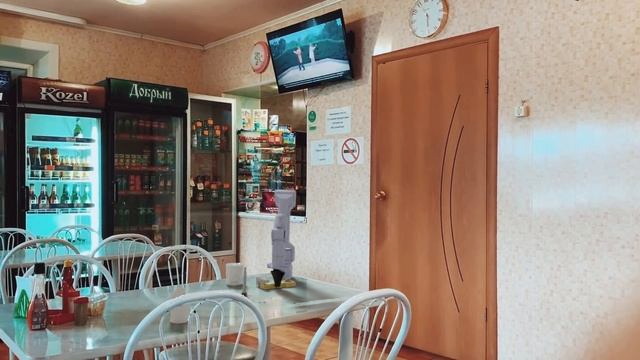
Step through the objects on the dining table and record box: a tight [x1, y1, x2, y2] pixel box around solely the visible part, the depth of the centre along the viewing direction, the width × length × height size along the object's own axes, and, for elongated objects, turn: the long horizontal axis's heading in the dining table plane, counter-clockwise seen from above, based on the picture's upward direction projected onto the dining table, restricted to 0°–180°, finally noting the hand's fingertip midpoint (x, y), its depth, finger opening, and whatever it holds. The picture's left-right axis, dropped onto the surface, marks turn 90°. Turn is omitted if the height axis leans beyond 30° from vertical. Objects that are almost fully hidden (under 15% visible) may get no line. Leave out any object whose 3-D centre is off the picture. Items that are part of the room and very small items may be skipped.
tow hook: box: [240, 266, 253, 297], centre depth 219 cm, size 8×13×9 cm
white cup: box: [225, 262, 245, 286], centre depth 237 cm, size 8×8×10 cm
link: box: [259, 279, 297, 290], centre depth 233 cm, size 16×5×2 cm, turn 126°
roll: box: [169, 285, 190, 325], centre depth 179 cm, size 6×12×6 cm
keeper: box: [255, 276, 270, 288], centre depth 230 cm, size 2×8×4 cm, turn 34°
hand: (277, 286), depth 230 cm, fingers closed
